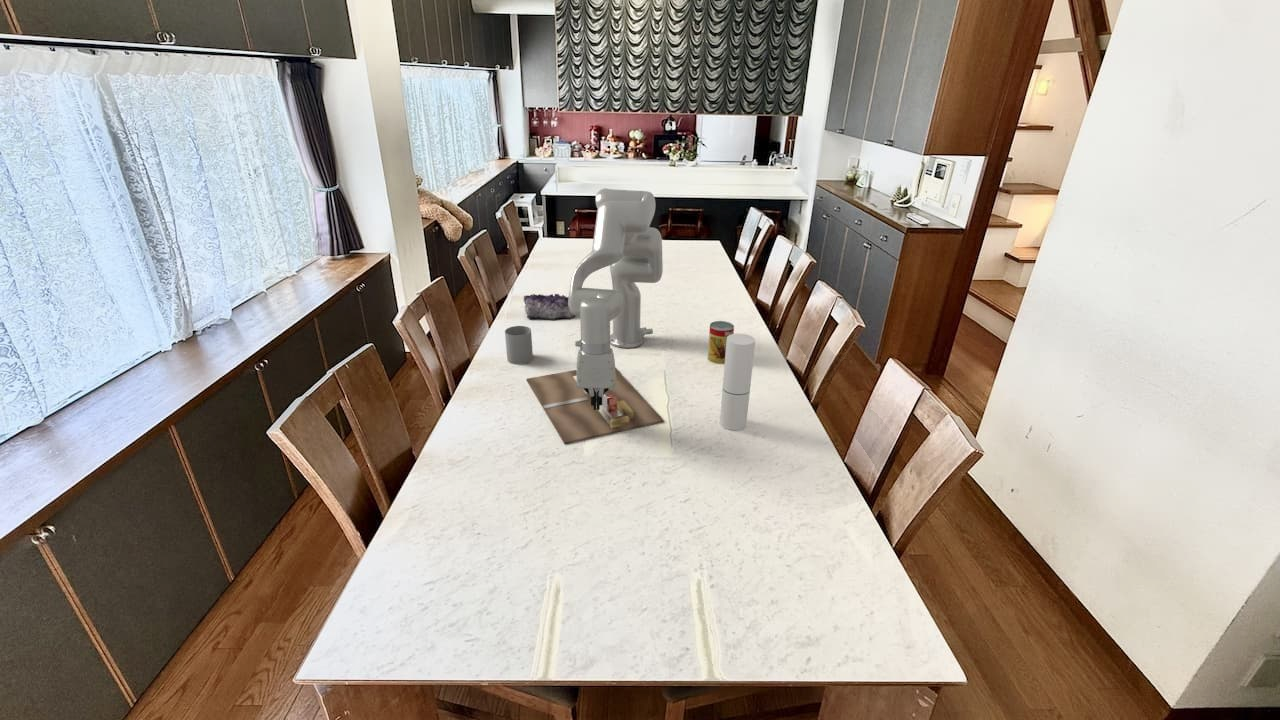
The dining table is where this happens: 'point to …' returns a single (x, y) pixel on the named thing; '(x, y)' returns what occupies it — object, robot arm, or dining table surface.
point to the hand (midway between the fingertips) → (596, 407)
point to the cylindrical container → (737, 381)
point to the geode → (547, 306)
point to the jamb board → (589, 407)
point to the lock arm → (610, 405)
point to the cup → (519, 344)
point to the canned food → (719, 340)
